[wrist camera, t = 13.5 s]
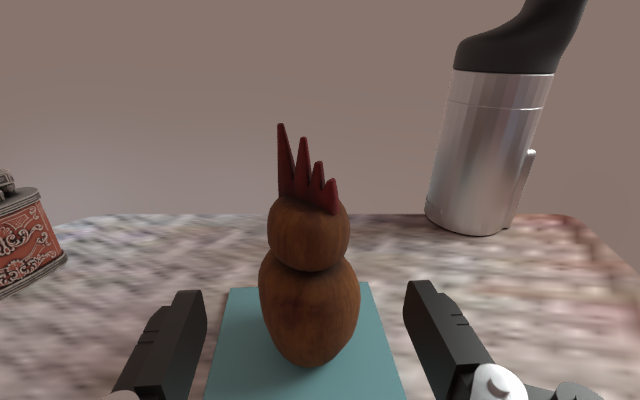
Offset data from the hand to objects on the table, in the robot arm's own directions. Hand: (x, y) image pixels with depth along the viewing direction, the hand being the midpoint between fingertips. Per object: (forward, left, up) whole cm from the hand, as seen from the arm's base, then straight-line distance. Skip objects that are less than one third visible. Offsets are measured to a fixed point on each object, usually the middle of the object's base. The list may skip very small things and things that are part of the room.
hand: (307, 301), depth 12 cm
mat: (0, -6, -10) cm, 12 cm away
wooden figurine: (0, -6, -10) cm, 11 cm away
